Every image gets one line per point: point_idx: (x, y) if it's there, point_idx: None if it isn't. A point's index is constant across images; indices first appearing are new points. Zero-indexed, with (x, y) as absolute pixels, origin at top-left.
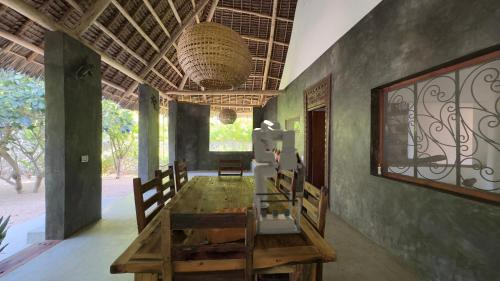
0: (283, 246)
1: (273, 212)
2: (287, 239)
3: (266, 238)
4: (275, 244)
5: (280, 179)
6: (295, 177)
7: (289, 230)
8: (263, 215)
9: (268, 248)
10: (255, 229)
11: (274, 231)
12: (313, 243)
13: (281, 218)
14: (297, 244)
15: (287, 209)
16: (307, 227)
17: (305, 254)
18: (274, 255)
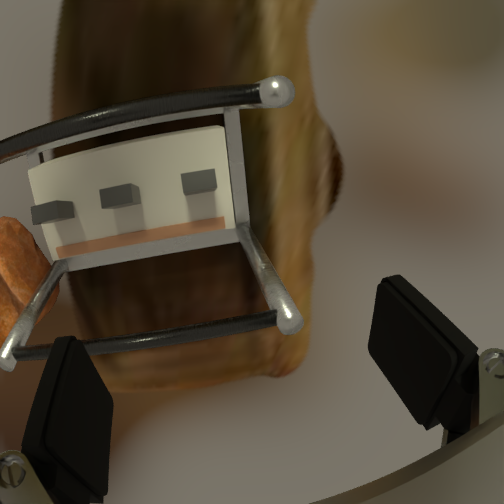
0: None
1: (107, 208)
2: (183, 299)
3: (101, 298)
4: None
5: (107, 399)
6: (381, 370)
7: (200, 242)
8: (55, 221)
9: (118, 358)
10: (51, 306)
11: (129, 260)
12: None
13: (161, 212)
14: None
15: (205, 189)
16: (301, 174)
17: (228, 374)
18: (140, 385)
